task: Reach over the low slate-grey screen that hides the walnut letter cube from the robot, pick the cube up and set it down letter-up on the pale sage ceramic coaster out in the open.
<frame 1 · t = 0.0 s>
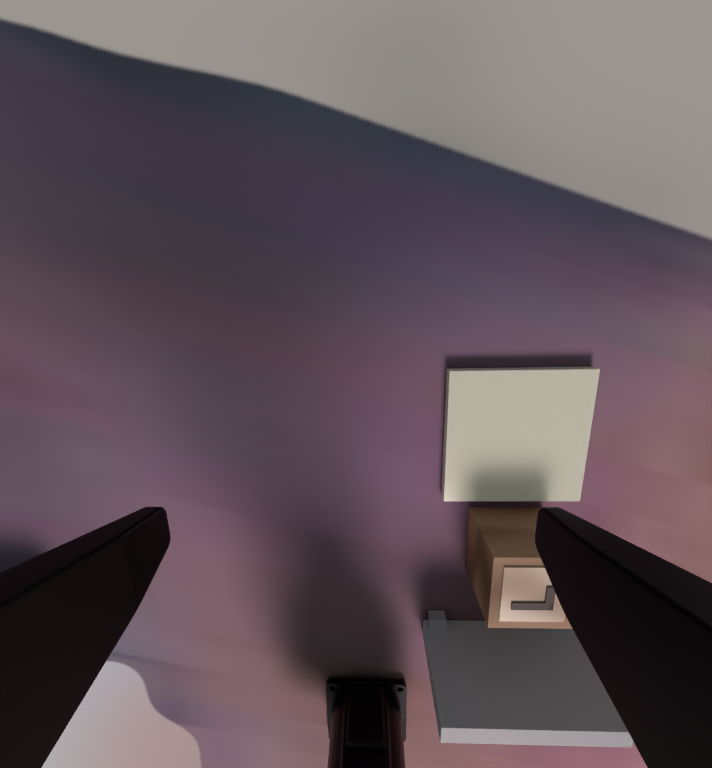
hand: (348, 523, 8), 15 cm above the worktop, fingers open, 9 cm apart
letter cube: (501, 536, 25), on the worktop
screen: (494, 627, 27), on the worktop
coaster: (512, 434, 23), on the worktop
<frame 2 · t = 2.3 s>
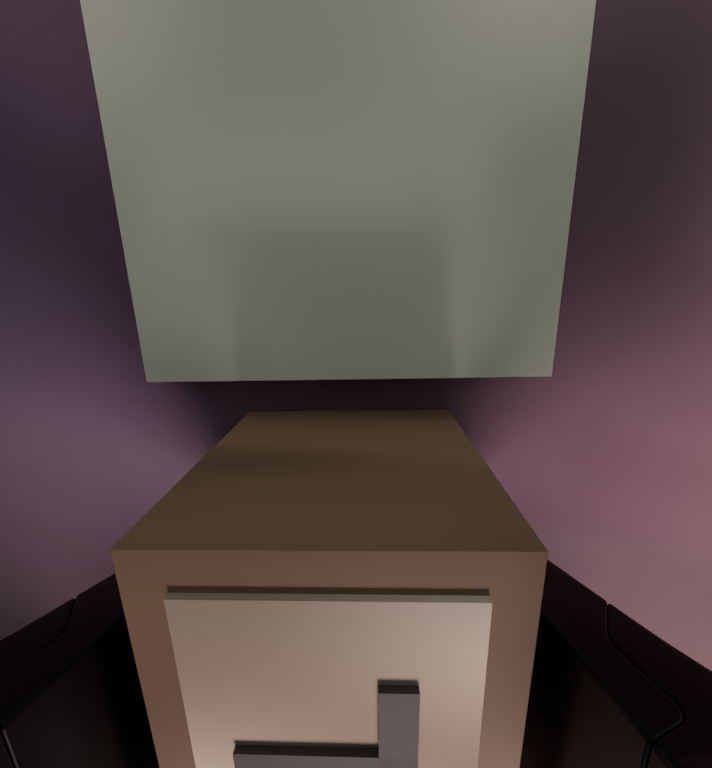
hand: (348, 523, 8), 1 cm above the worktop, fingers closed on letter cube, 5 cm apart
letter cube: (350, 498, 9), on the worktop, touching gripper
coaster: (340, 164, 7), on the worktop
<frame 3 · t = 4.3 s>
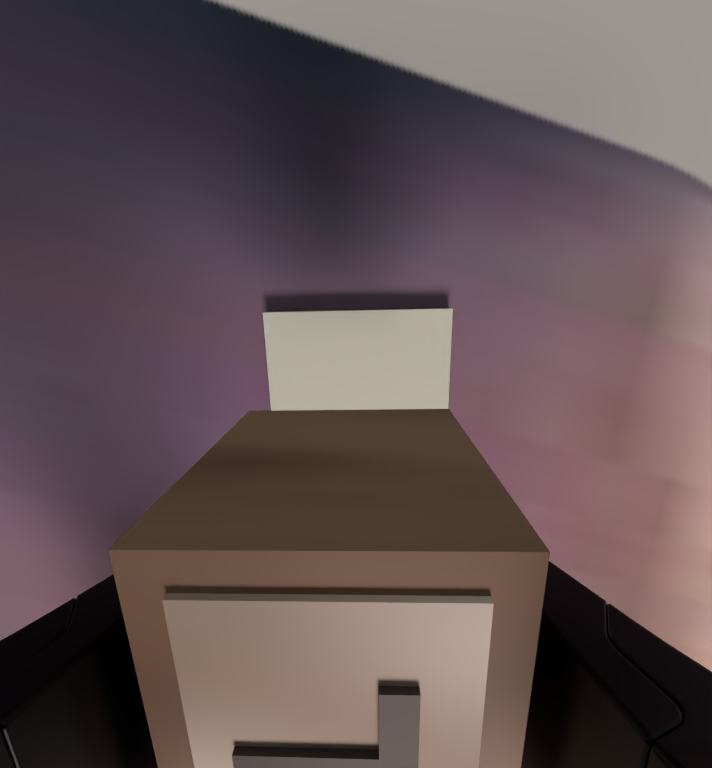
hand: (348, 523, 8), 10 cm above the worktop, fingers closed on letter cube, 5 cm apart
letter cube: (350, 498, 9), point 9 cm above the worktop, touching gripper
coaster: (359, 396, 18), on the worktop
when the fingers open (3 cm above the worktop, at t = 5.9 s): letter cube drops 1 cm, resting on coaster.
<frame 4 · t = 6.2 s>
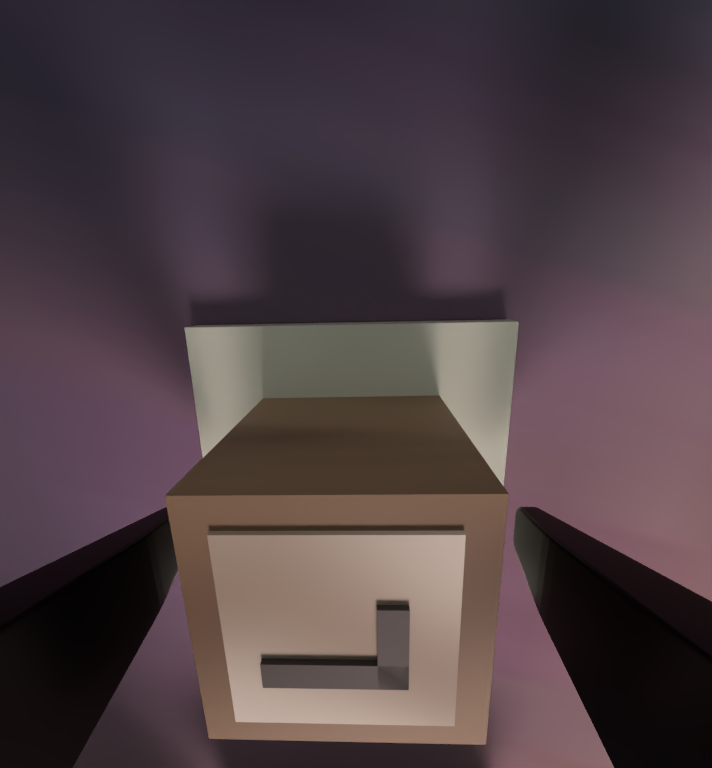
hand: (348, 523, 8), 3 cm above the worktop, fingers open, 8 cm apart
letter cube: (352, 476, 11), point 1 cm above the worktop, touching coaster
coaster: (353, 463, 11), on the worktop
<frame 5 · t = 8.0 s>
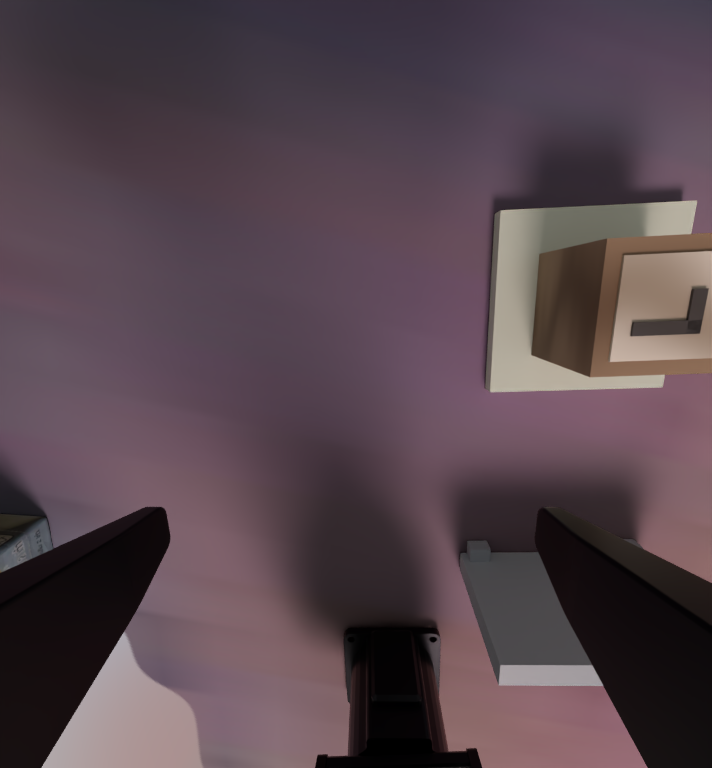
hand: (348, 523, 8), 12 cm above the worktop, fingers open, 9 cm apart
letter cube: (586, 304, 18), point 1 cm above the worktop, touching coaster
screen: (547, 559, 22), on the worktop
coaster: (576, 303, 18), on the worktop
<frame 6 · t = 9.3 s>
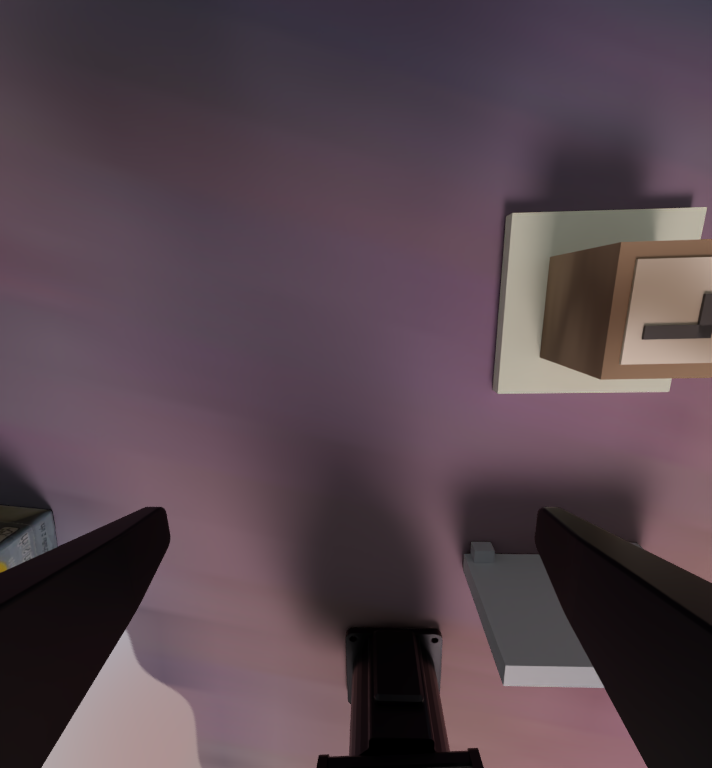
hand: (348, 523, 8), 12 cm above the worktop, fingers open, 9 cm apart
letter cube: (594, 307, 18), point 1 cm above the worktop, touching coaster
screen: (550, 562, 22), on the worktop
coaster: (585, 306, 18), on the worktop
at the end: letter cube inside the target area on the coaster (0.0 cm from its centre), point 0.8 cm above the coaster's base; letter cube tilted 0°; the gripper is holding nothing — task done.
